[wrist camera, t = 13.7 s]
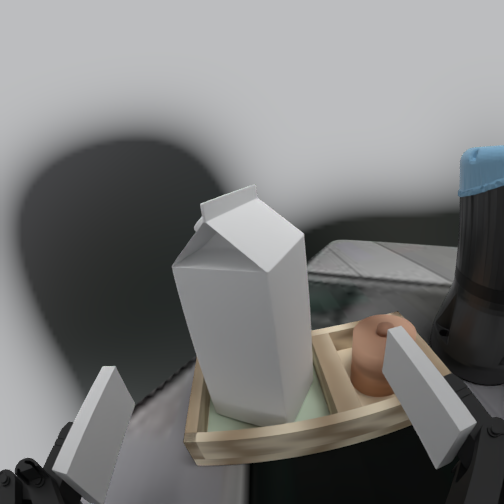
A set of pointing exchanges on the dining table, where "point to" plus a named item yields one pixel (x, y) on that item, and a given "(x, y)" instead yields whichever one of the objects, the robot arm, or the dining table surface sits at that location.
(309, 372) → the milk carton
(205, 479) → the dining table surface
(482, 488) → the robot arm
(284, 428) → the caddy
